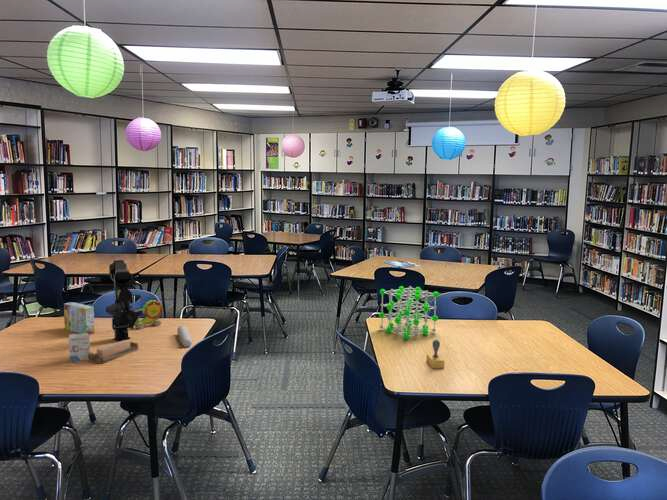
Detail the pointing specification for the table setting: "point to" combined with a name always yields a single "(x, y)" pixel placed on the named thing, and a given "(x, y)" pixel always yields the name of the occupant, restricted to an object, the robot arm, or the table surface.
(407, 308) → the molecular structure model
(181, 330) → the tube
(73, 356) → the ink box
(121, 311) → the robot arm
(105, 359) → the wooden tray
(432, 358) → the rubber stamp
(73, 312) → the snack box
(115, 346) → the beige long block
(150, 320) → the toy lion
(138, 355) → the table surface
